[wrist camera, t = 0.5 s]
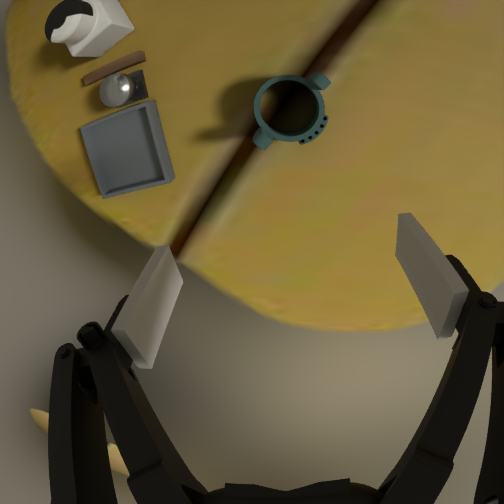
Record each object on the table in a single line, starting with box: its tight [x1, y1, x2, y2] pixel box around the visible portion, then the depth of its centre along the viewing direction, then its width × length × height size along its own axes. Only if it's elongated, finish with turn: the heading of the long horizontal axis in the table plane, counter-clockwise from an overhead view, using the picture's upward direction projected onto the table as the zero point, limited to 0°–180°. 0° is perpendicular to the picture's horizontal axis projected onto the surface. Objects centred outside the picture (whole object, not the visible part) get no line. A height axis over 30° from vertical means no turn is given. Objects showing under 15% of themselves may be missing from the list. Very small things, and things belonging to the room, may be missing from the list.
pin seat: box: [81, 0, 146, 85], centre depth 27 cm, size 16×10×2 cm, turn 10°
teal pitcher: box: [252, 72, 331, 150], centre depth 31 cm, size 9×9×9 cm
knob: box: [99, 70, 148, 107], centre depth 31 cm, size 5×5×6 cm
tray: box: [80, 100, 175, 199], centre depth 38 cm, size 12×12×2 cm
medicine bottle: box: [45, 0, 134, 57], centre depth 23 cm, size 7×7×12 cm
